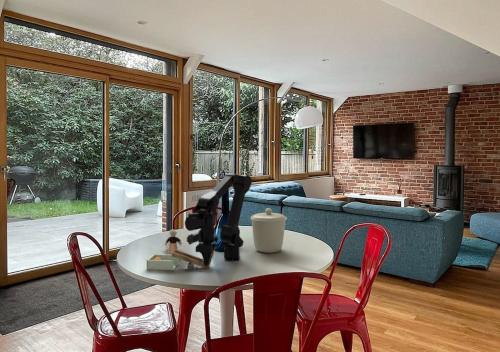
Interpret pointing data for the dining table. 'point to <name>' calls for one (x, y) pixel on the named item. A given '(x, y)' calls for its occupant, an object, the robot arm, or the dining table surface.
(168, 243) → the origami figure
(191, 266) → the fulcrum
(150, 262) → the tray
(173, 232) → the grandmother figurine
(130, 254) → the dining table surface
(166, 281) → the dining table surface
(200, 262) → the brown wooden ramp
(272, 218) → the canister
